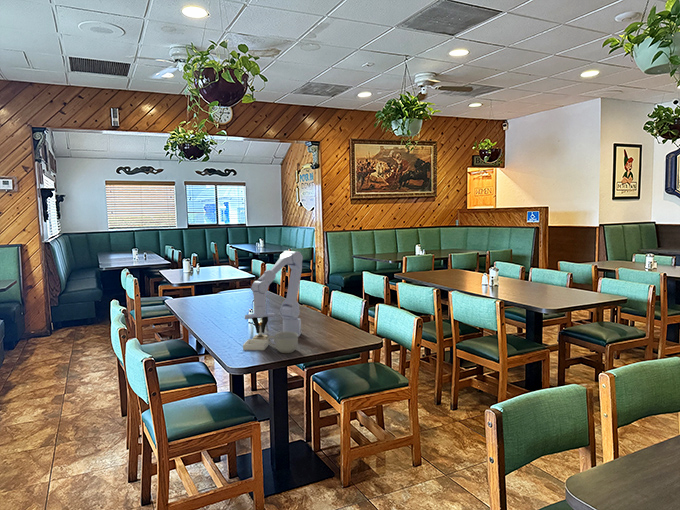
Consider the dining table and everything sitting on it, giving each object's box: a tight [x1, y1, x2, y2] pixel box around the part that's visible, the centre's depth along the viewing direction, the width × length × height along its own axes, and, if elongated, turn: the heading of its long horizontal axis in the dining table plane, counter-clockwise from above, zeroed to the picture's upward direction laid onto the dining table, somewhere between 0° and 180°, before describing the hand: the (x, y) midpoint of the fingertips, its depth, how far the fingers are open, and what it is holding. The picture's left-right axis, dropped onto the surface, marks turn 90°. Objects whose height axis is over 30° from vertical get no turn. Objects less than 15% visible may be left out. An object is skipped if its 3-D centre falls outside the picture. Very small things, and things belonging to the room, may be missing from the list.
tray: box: [242, 338, 270, 351], centre depth 221 cm, size 10×10×2 cm
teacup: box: [267, 331, 299, 354], centre depth 214 cm, size 14×11×8 cm
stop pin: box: [257, 321, 263, 337], centre depth 229 cm, size 2×2×9 cm
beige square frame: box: [252, 334, 269, 339], centre depth 229 cm, size 6×6×3 cm
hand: (260, 332), depth 229 cm, fingers closed on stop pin, 2 cm apart
